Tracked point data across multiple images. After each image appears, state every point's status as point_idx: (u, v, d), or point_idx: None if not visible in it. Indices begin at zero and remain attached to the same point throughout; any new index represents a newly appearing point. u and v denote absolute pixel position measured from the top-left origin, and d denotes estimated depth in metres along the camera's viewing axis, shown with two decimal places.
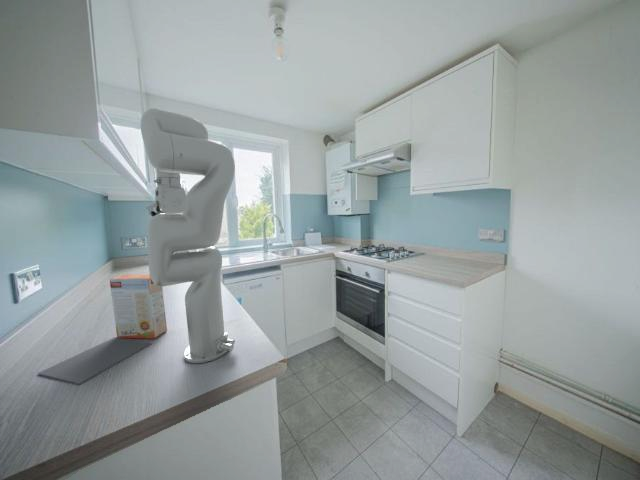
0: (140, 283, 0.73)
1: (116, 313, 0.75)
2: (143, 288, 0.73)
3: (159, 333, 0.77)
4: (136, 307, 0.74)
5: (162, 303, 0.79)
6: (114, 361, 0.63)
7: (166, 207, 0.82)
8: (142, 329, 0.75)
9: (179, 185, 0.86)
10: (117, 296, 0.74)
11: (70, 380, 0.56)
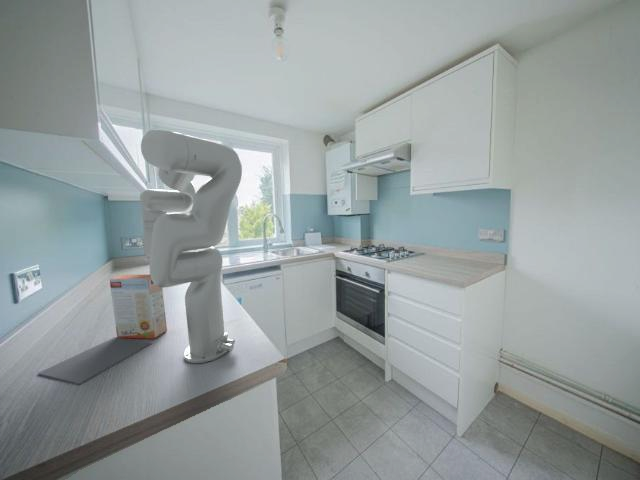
0: (140, 283, 0.73)
1: (116, 313, 0.75)
2: (143, 288, 0.73)
3: (159, 333, 0.77)
4: (136, 307, 0.74)
5: (162, 303, 0.79)
6: (114, 361, 0.63)
7: None
8: (142, 329, 0.75)
9: None
10: (117, 296, 0.74)
11: (70, 380, 0.56)
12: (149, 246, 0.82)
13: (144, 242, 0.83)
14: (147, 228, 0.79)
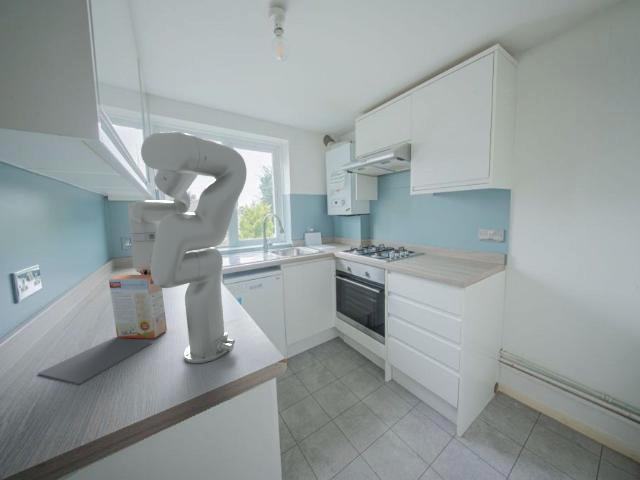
0: (139, 283, 0.73)
1: (116, 313, 0.75)
2: (142, 288, 0.73)
3: (159, 333, 0.77)
4: (136, 307, 0.74)
5: (162, 303, 0.78)
6: (114, 361, 0.63)
7: None
8: (142, 329, 0.75)
9: None
10: (117, 296, 0.74)
11: (70, 380, 0.56)
12: (138, 259, 0.78)
13: (133, 255, 0.79)
14: (135, 241, 0.76)
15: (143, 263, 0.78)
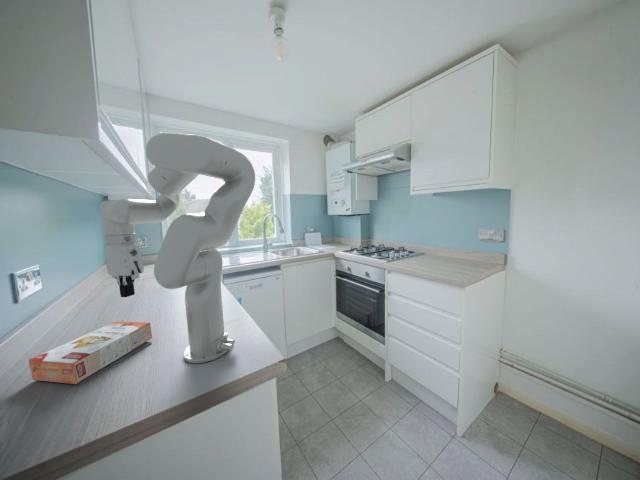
0: None
1: None
2: None
3: (149, 333, 0.73)
4: None
5: (117, 342, 0.64)
6: (114, 361, 0.63)
7: None
8: None
9: None
10: None
11: None
12: (112, 264, 0.71)
13: (107, 259, 0.71)
14: (109, 244, 0.68)
15: (118, 268, 0.70)
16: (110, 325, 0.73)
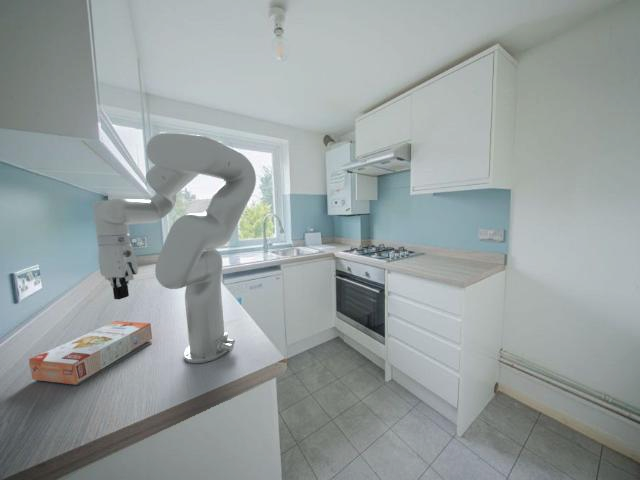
0: None
1: None
2: None
3: (149, 333, 0.73)
4: None
5: (118, 342, 0.64)
6: (114, 361, 0.63)
7: None
8: None
9: None
10: None
11: None
12: (106, 265, 0.69)
13: (100, 261, 0.69)
14: (101, 244, 0.66)
15: (111, 270, 0.69)
16: (110, 325, 0.73)
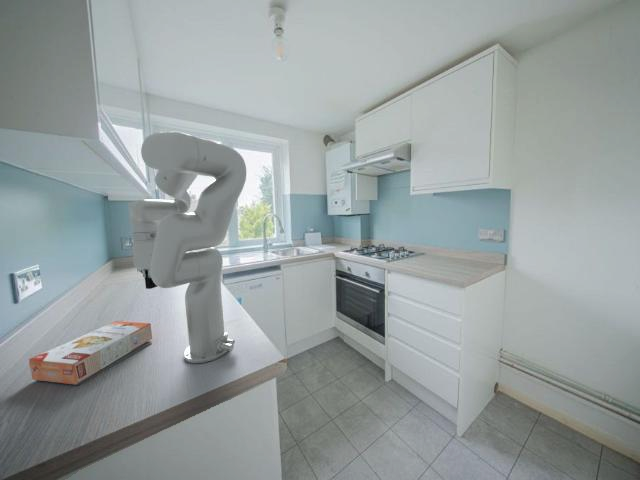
0: None
1: None
2: None
3: (149, 333, 0.73)
4: None
5: (118, 342, 0.64)
6: (114, 361, 0.63)
7: None
8: None
9: None
10: None
11: None
12: (139, 258, 0.78)
13: (134, 254, 0.79)
14: (136, 240, 0.76)
15: (144, 262, 0.78)
16: (110, 325, 0.73)
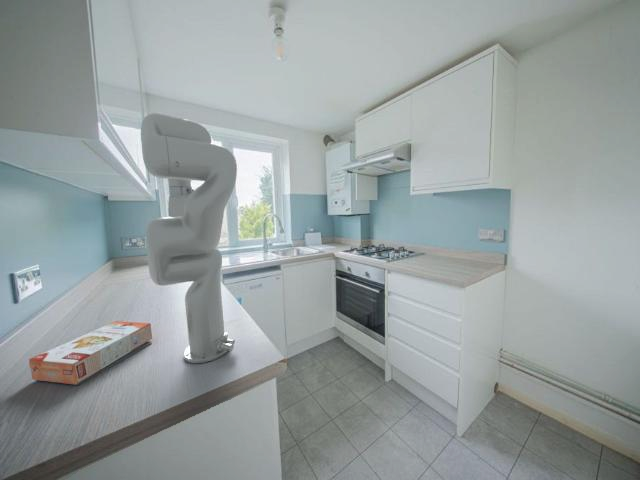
0: None
1: None
2: None
3: (149, 333, 0.73)
4: None
5: (118, 342, 0.64)
6: (114, 361, 0.63)
7: None
8: None
9: None
10: None
11: None
12: (175, 212, 0.83)
13: (170, 209, 0.84)
14: (174, 193, 0.81)
15: (180, 215, 0.83)
16: (110, 325, 0.73)
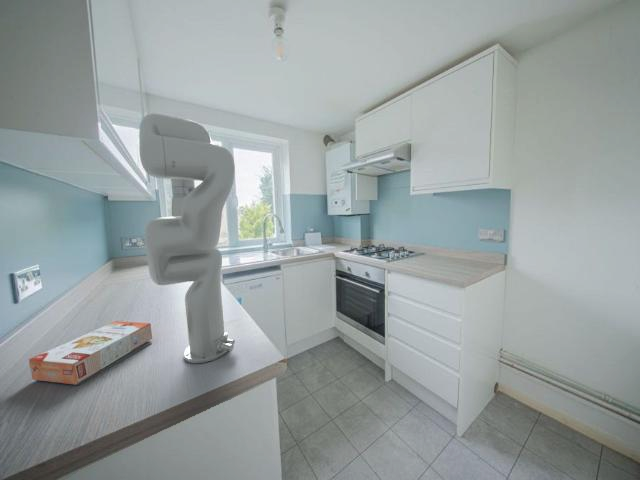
0: None
1: None
2: None
3: (149, 333, 0.73)
4: None
5: (118, 342, 0.64)
6: (114, 361, 0.63)
7: None
8: None
9: None
10: None
11: None
12: (178, 212, 0.84)
13: (173, 209, 0.85)
14: (177, 193, 0.82)
15: None
16: (110, 325, 0.73)
